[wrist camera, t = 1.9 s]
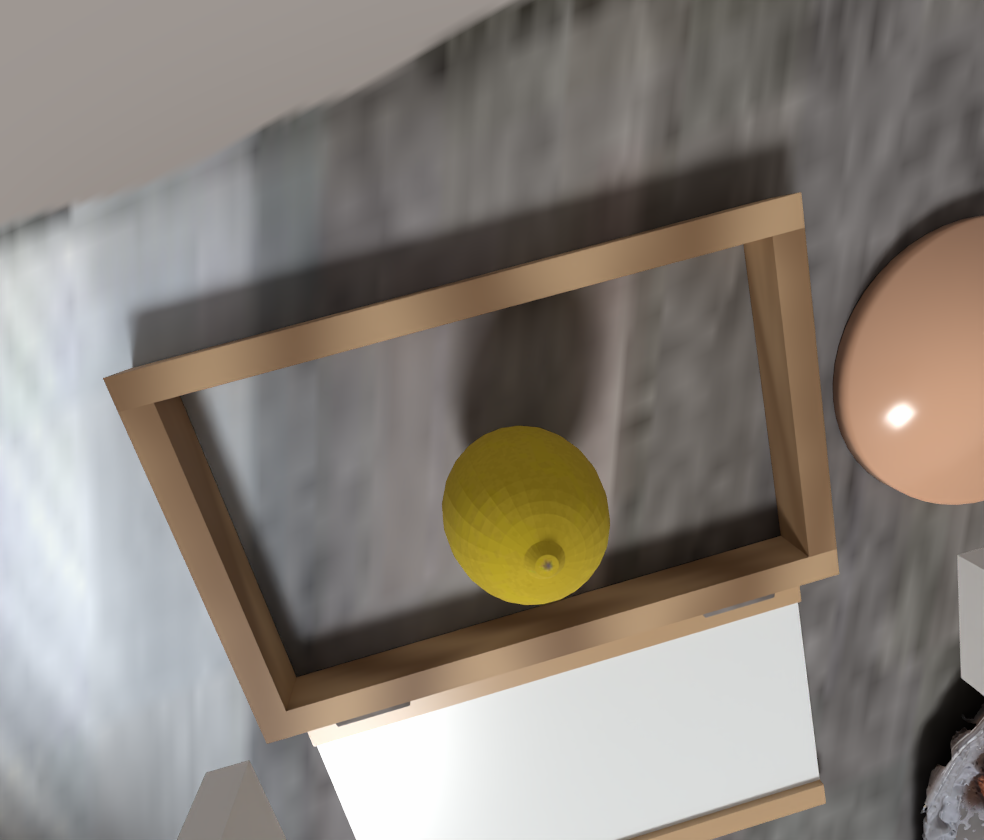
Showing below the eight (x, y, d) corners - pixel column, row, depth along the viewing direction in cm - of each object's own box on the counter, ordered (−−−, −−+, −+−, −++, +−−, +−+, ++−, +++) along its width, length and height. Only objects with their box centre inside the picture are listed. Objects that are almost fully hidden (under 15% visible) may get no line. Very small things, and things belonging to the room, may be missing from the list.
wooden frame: (284, 720, 26) (272, 757, 24) (131, 368, 21) (103, 378, 19) (810, 565, 27) (840, 588, 25) (768, 198, 22) (801, 192, 20)
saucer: (845, 527, 26) (861, 536, 26) (819, 257, 23) (837, 257, 22) (1091, 454, 27) (1116, 462, 26) (1100, 181, 24) (1129, 178, 23)
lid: (395, 916, 29) (394, 938, 28) (308, 707, 26) (304, 724, 25) (813, 786, 30) (825, 803, 29) (784, 567, 27) (798, 578, 26)
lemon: (596, 491, 25) (674, 594, 17) (480, 555, 25) (505, 685, 17) (536, 378, 23) (593, 435, 15) (413, 446, 23) (408, 536, 16)
